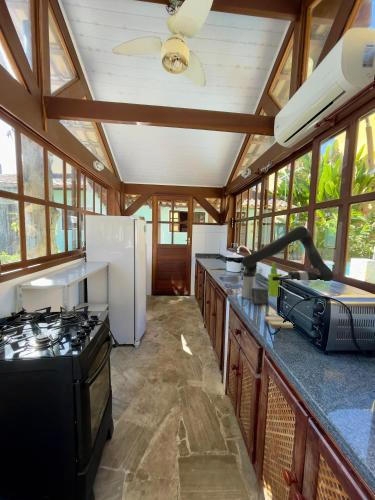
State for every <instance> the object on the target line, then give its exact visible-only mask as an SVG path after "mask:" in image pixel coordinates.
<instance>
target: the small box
mask: <svg viewBox="0 0 375 500" xmlns="http://www.w3.org/2000/svg"><path fill="white" fill-rule="evenodd" d="M251 303H252V304H253V305H269V289H268V288H262V287H260V288H258V287H255V288H252V299H251Z"/></svg>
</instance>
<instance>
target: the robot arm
mask: <svg viewBox="0 0 375 500" xmlns="http://www.w3.org/2000/svg"><path fill="white" fill-rule="evenodd" d="M297 241H299V242H300V243H301V245H302V246H303V248H304V250H305V252H306V257H307V259H308V261H309V263H310V265H311V268H312V269H313V270H318V271H319V273H316V272H315V271H311V270H310V271H308V270H307V271H304V270H294V271H293V270H291V271H288V273H283V272H282V273H278V274H279V277H272V280H273V281H279V282H283V281H284V279H291V280H293V279H297V280H317V279H320V280H324V281H329V282H331V281H332V280H333V279H334V277H335V275H334V272H333V271H332V269H331V268H329V266H328V265H327V264H326V263H325V261H324V260H323V258H322V255H320V252H319V251H318V249H317V248H316V246H315V243H314V240H313V238H312V234H311V231H310V230H309V229H308V228H307V227H305V226H302V225H299V226H296V227H294V228H293V229H291V230H290V231H289V232H287V233H286V234H284V235H282V236H280V237H278V238H277V239H275V240H273V241H271V242H270V243H268V244H266V245H264V246H263V247H261V248H260V249H258V250H257V251H255V252H253V253H251V254H248V255H245V256H244V257H243V258H242V259H241V265H242V266H243V267H244V270H243V273H242V284H241V298H243V299H246V300H247V299H248V300H252V288H256V275H257V274H256V273H257V266H258V264H257V263H259V262H260V261H264V260H266V259H269V258H271V257H273V256H276V255H278V254H280V253H281V252H282V251H283V250H285V249H286V248H287V247H288V246H289V245H290V244H292V243H294V242H297ZM267 276H268V279H269V274H268V275H267ZM281 279H282V281H280V280H281ZM283 283H284V282H283Z"/></svg>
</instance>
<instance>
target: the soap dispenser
mask: <svg viewBox="0 0 375 500" xmlns="http://www.w3.org/2000/svg"><path fill="white" fill-rule="evenodd" d="M276 265H277V264H276V262H271V268H270V273H268V275H269V278H268V297H274V298H275V297H279V296H278V287H279V288H280V281H273V280H272V277H279V274H280V273H278V268H277V267H276Z"/></svg>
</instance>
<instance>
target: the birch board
mask: <svg viewBox="0 0 375 500" xmlns="http://www.w3.org/2000/svg"><path fill="white" fill-rule="evenodd" d="M263 320H264V321H265V322H266V323H267V324H268V325H269V327H271V328H272V329H294V328H293V327H294V326H293V324H294V323H293V322H292V321H291V322H292V323H293V324H292V323H291V322H289V321H286V322H284V323H283V321H284V319H283V318H282V317H281V315H277V316H275V315H266V316H265V315H264V319H263ZM279 327H281V328H279Z"/></svg>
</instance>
